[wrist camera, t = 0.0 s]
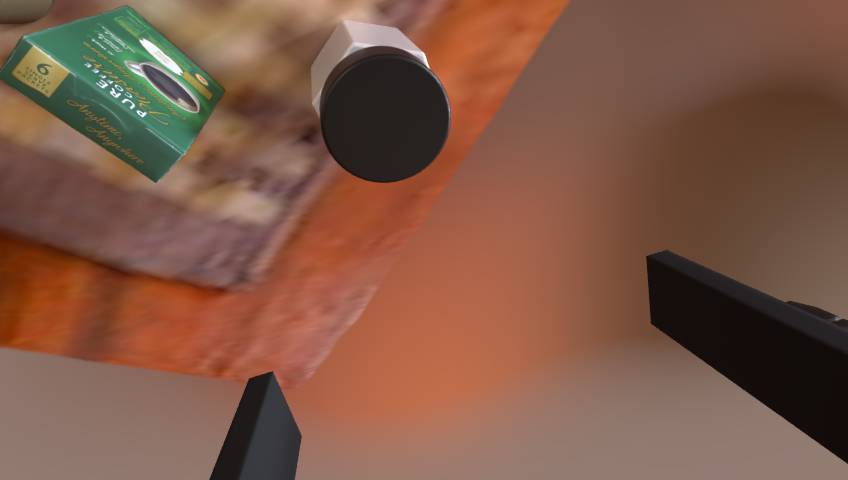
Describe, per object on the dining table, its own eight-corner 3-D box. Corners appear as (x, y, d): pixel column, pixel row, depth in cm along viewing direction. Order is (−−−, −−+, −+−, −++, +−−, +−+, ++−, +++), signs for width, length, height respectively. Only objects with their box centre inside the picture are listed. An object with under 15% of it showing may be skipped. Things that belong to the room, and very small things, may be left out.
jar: (309, 117, 36) (311, 181, 26) (311, 12, 31) (314, 43, 22) (409, 126, 38) (444, 187, 29) (424, 30, 34) (471, 65, 24)
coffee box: (99, 28, 29) (-15, 78, 18) (124, -1, 28) (20, 32, 18) (203, 113, 33) (159, 190, 23) (227, 89, 33) (192, 157, 22)
